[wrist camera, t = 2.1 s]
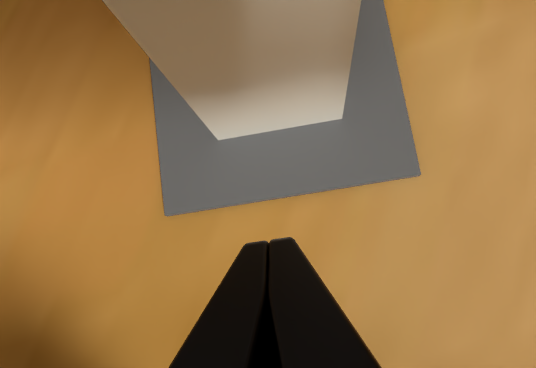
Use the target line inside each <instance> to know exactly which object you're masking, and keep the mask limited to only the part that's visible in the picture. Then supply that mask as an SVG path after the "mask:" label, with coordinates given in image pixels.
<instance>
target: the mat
mask: <svg viewBox="0 0 536 368" xmlns="http://www.w3.org/2000/svg"><path fill="white" fill-rule="evenodd" d="M149 59H150V58H149ZM150 69H151V79H152V89H153V100H154V110H155V120H156V131H157V141H158V151H159V162H160V172H161V182H162V193H163V203H164V213H165V216H173V215H179V214H185V213H191V212H198V211H204V210H210V209H216V208H223V207H229V206H235V205H241V204H248V203H254V202H260V201H266V200H273V199H279V198H285V197H291V196H298V195H304V194H310V193H316V192H323V191H329V190H335V189H341V188H348V187H354V186H360V185H366V184H372V183H379V182H385V181H391V180H397V179H404V178H410V177H416V176H420V175H421V172H420V167H419V163H418V158H417V154H416V149H415V144H414V140H413V135H412V131H411V126H410V121H409V117H408V112H407V108H406V103H405V98H404V94H403V89H402V85H401V80H400V75H399V71H398V66H397V62H396V57H395V52H394V48H393V43H392V39H391V34H390V29H389V25H388V20H387V16H386V11H385V6H384V2H383V0H361V5H360V11H359V17H358V23H357V29H356V36H355V42H354V48H353V54H352V60H351V67H350V73H349V79H348V85H347V91H346V98H345V104H344V110H343V116H342V119H338V120H332V121H326V122H320V123H315V124H309V125H303V126H297V127H292V128H286V129H280V130H274V131H269V132H263V133H257V134H252V135H246V136H240V137H234V138H229V139H223V140H217V138H216V137H215V136H214V135H213V134H212V132H211V131H210V130H209V129H208V128H207V126H206V125H205V124H204V123H203V121H202V120H201V119H200V118H199V117H198V115H197V114H196V113H195V112H194V111H193V109H192V108H191V107H190V106H189V105H188V103H187V102H186V101H185V100H184V99H183V97H182V96H181V95H180V94H179V93H178V91H177V90H176V89H175V88H174V87H173V85H172V84H171V83H170V82H169V81H168V79H167V78H166V77H165V76H164V74H163V73H162V72H161V71H160V70H159V68H158V67H157V66H156V65H155V64H154V62H153V61H152V60H151V59H150Z"/></svg>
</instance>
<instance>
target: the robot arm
mask: <svg viewBox="0 0 536 368" xmlns="http://www.w3.org/2000/svg"><path fill="white" fill-rule="evenodd" d="M169 368H381V366H380V365H379V363H378V362H377V360H376V359H375V357H374V356H373V354H372V353H371V352H370V350H369V349H368V347H367V346H366V344H365V343H364V341H363V340H362V338H361V337H360V335H359V334H358V332H357V331H356V330H355V328H354V327H353V325H352V324H351V322H350V321H349V319H348V318H347V316H346V315H345V313H344V312H343V310H342V309H341V308H340V306H339V305H338V303H337V302H336V300H335V299H334V297H333V296H332V294H331V293H330V291H329V290H328V288H327V287H326V286H325V284H324V283H323V281H322V280H321V278H320V277H319V275H318V274H317V272H316V271H315V269H314V268H313V266H312V265H311V264H310V262H309V261H308V259H307V258H306V256H305V255H304V253H303V252H302V250H301V249H300V247H299V246H298V244H297V243H296V242H295V240H294V239H293V238H291V237H287V238H280V239H273V240H271V241H270V243H268V242H267V241H259V242H252V243H247V244H245V245H244V246H243V247H242V249H241V251H240V252H239V254H238V256H237V257H236V259H235V260H234V262H233V264H232V265H231V267H230V269H229V270H228V272H227V273H226V275H225V277H224V278H223V280H222V282H221V283H220V285H219V286H218V288H217V290H216V291H215V293H214V295H213V296H212V298H211V299H210V301H209V303H208V304H207V306H206V308H205V309H204V311H203V312H202V314H201V316H200V317H199V319H198V321H197V322H196V324H195V325H194V327H193V329H192V330H191V332H190V334H189V335H188V337H187V338H186V340H185V342H184V343H183V345H182V347H181V348H180V350H179V351H178V353H177V355H176V356H175V358H174V360H173V361H172V363H171V364H170V366H169Z"/></svg>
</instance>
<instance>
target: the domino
mask: <svg viewBox="0 0 536 368" xmlns="http://www.w3.org/2000/svg"><path fill="white" fill-rule="evenodd" d="M102 1H103V2H104V3H105V5H106V6H107V7H108V8H109V9H110V11H111V12H112V13H113V14H114V15H115V17H116V18H117V19H118V20H119V21H120V23H121V24H122V25H123V26H124V27H125V29H126V30H127V31H128V32H129V34H130V35H131V36H132V37H133V38H134V40H135V41H136V42H137V43H138V44H139V46H140V47H141V48H142V49H143V50H144V52H145V53H146V54H147V55H148V56H149V58H150V59H151V60H152V61H153V62H154V64H155V65H156V66H157V67H158V68H159V70H160V71H161V72H162V73H163V74H164V76H165V77H166V78H167V79H168V81H169V82H170V83H171V84H172V85H173V87H174V88H175V89H176V90H177V91H178V93H179V94H180V95H181V96H182V97H183V99H184V100H185V101H186V102H187V103H188V105H189V106H190V107H191V108H192V109H193V111H194V112H195V113H196V114H197V115H198V117H199V118H200V119H201V120H202V121H203V123H204V124H205V125H206V126H207V128H208V129H209V130H210V131H211V132H212V134H213V135H214V136H215V137H216V138H217V140H223V139H229V138H234V137H240V136H246V135H252V134H257V133H263V132H269V131H274V130H280V129H286V128H292V127H297V126H303V125H309V124H315V123H320V122H326V121H332V120H338V119H342V116H343V110H344V104H345V98H346V91H347V85H348V79H349V73H350V67H351V60H352V54H353V48H354V42H355V36H356V29H357V23H358V17H359V11H360V5H361V0H102Z"/></svg>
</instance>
